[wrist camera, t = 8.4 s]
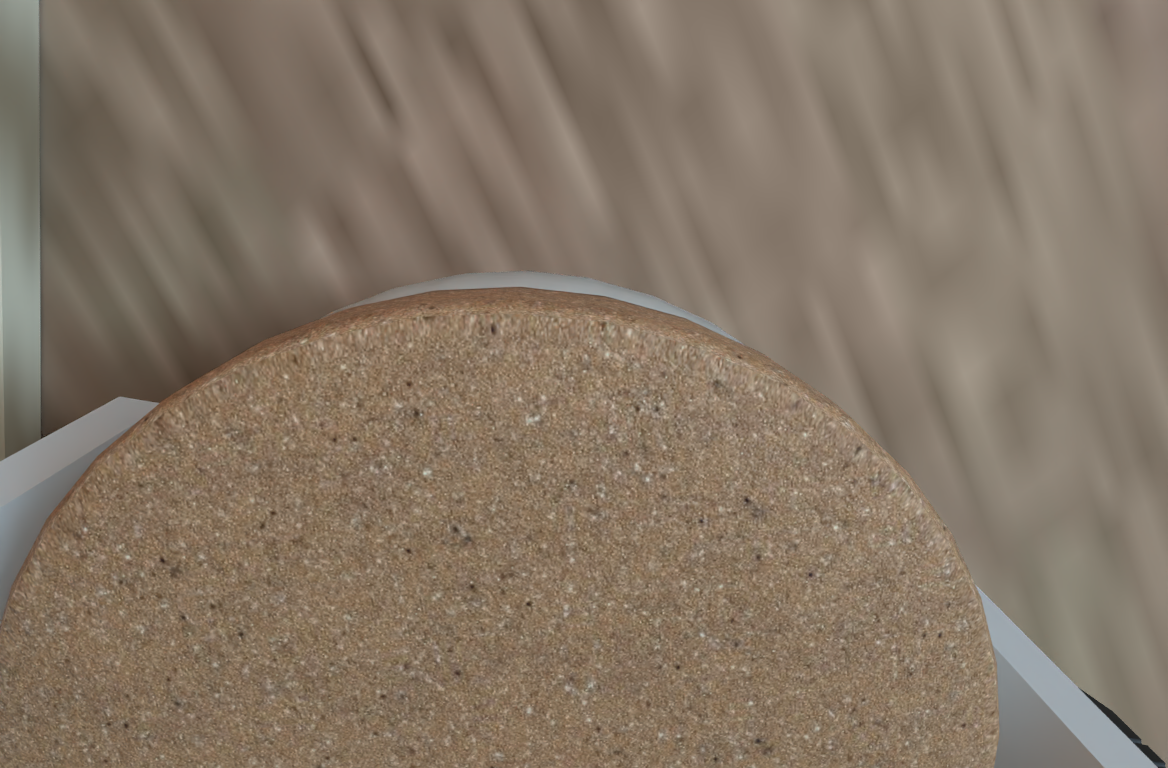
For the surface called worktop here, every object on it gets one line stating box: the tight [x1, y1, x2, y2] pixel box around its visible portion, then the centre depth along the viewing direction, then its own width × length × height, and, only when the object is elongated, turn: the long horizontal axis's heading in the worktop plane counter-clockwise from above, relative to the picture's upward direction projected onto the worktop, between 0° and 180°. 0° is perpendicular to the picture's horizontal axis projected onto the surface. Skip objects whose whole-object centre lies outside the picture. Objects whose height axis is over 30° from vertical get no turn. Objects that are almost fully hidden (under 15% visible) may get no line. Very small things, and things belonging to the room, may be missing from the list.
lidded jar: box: [0, 271, 1000, 768], centre depth 11 cm, size 11×11×9 cm
